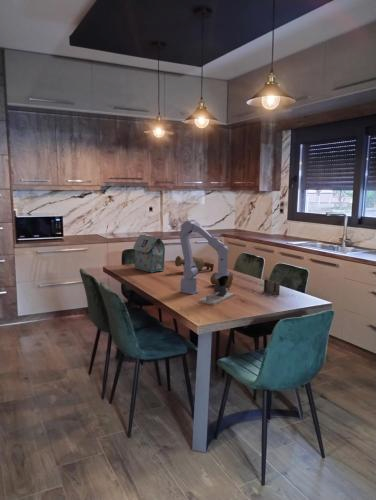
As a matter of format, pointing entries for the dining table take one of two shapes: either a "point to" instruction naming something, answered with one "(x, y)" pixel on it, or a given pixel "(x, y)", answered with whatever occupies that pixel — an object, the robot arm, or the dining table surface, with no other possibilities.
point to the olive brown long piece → (197, 261)
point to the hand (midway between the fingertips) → (222, 288)
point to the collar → (221, 289)
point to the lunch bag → (149, 253)
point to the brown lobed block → (228, 282)
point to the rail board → (216, 298)
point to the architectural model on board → (271, 286)
